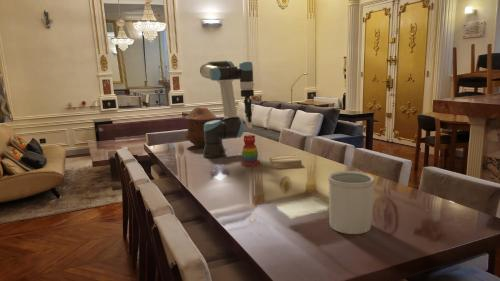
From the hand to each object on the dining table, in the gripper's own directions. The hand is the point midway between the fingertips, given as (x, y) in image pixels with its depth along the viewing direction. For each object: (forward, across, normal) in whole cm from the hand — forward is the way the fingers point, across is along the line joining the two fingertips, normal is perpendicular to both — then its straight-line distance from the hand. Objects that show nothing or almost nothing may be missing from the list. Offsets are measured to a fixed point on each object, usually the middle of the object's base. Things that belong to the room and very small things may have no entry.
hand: (248, 126), depth 209 cm
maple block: (+24, -4, -20) cm, 31 cm away
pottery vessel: (+23, +68, +32) cm, 79 cm away
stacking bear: (+23, 0, 0) cm, 23 cm away
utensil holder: (+24, -94, -27) cm, 100 cm away
